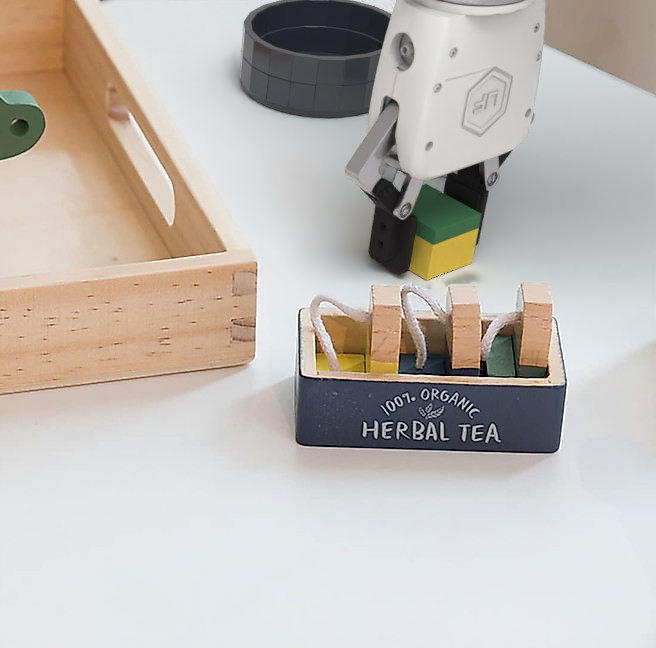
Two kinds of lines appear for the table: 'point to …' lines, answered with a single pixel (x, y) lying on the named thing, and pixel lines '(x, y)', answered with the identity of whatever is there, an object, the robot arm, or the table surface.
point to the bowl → (313, 55)
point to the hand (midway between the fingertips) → (423, 249)
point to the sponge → (442, 234)
